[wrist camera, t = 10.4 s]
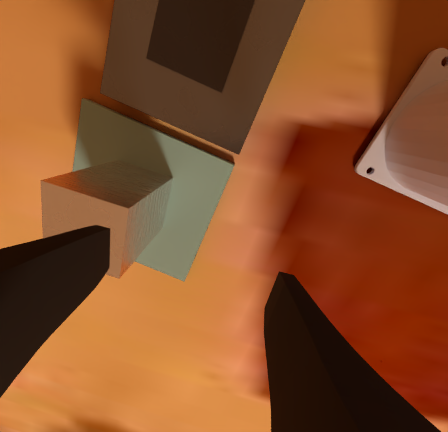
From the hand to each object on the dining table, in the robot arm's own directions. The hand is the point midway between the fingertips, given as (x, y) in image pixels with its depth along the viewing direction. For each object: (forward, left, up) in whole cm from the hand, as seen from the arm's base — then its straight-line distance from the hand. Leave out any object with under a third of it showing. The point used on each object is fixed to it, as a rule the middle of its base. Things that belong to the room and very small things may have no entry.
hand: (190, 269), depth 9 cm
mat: (+6, +3, -10) cm, 12 cm away
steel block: (+6, +2, -9) cm, 11 cm away
